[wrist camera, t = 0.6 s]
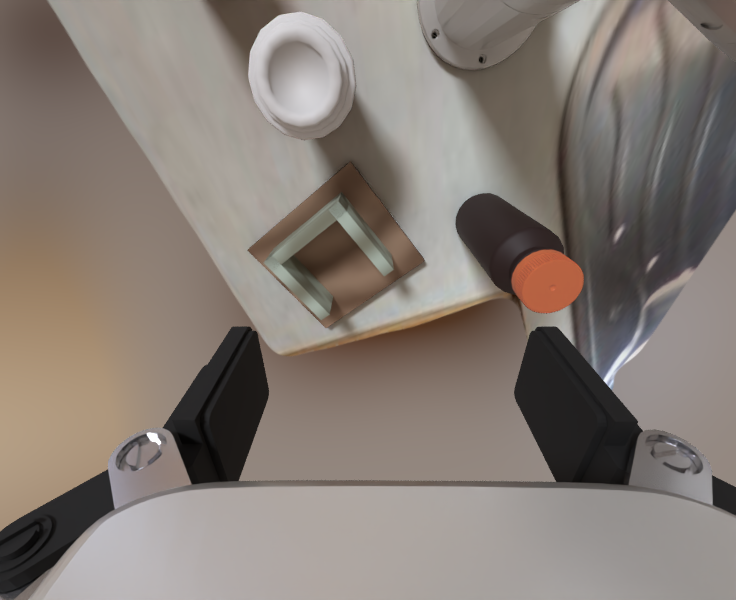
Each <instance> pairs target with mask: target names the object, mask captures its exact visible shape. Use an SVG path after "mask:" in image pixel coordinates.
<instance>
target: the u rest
mask: <svg viewBox="0 0 736 600" xmlns="http://www.w3.org/2000/svg"><path fill="white" fill-rule="evenodd" d="M248 251H249V252H250V253H251V254H252V255H253V256H254V257H255V258H256V259H257V260H258V261H259V262H260V263H261V264H262V265H263V266H264V267H265V268H266V269H267V270H268V271H269V272H270V273H271V274H272V275H273V276H274V277H275V278H276V279H277V280H278V281H279V282H280V283H281V284H282V285H283V286H284V287H285V288H286V289H287V290H288V291H289V292H290V293H291V294H292V295H293V296H294V297H295V298H296V299H297V300H298V301H299V302H300V303H301V304H302V305H303V306H304V307H305V308H306V309H307V310H308V311H309V312H310V313H311V314H312V315H313V316H314V317H315V318H316V319H317V320H318V321H319V322H320V323H321V324H322V325H323V326H324V327H325V328H327V327H329V326H330V325H332V324H333V323H334V322H336V321H337V320H339V319H340V318H342V317H343V316H345V315H346V314H348V313H349V312H351V311H352V310H353V309H355V308H356V307H358V306H359V305H361V304H362V303H364V302H365V301H367V300H368V299H370V298H371V297H373V296H374V295H375V294H377V293H378V292H380V291H381V290H383V289H384V288H386V287H387V286H389V285H390V284H392V283H393V282H394V281H396V280H397V279H399V278H400V277H402V276H403V275H405V274H406V273H408V272H409V271H411V270H412V269H413V268H415V267H416V266H418V265H419V264H421V263H422V262H424V258H423V257H422V256H421V254H420V253H419V252H418V250H417V249H416V248H415V246H414V245H413V244H412V242H411V241H410V240H409V238H408V237H407V236H406V234H405V233H404V232H403V230H402V229H401V228H400V226H399V225H398V224H397V222H396V221H395V220H394V218H393V217H392V216H391V214H390V213H389V212H388V210H387V209H386V208H385V207H384V205H383V204H382V203H381V201H380V200H379V199H378V197H377V196H376V195H375V193H374V192H373V191H372V189H371V188H370V187H369V185H368V184H367V183H366V181H365V180H364V179H363V177H362V176H361V175H360V173H359V172H358V171H357V169H356V168H355V167H354V165H353V164H352V163H351V161H350V162H349V163H348V164H347V165H346V166H344V167H343V168H342V169H341V170H340V171H339V172H337V173H336V174H335V175H334V176H333V177H332V178H330V179H329V180H328V181H327V182H326V183H325V184H323V185H322V186H321V187H320V188H319V189H318V190H316V191H315V192H314V193H313V194H312V195H311V196H309V197H308V198H307V199H306V200H305V201H304V202H303V203H301V204H300V205H299V206H298V207H297V208H296V209H294V210H293V211H292V212H291V213H290V214H289V215H287V216H286V217H285V218H284V219H283V220H282V221H280V222H279V223H278V224H277V225H276V226H275V227H273V228H272V229H271V230H270V231H269V232H268V233H266V234H265V235H264V236H263V237H262V238H261V239H259V240H258V241H257V242H256V243H255V244H254V245H252V246H251V247H250V248H249V249H248Z"/></svg>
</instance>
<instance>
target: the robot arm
mask: <svg viewBox="0 0 736 600" xmlns="http://www.w3.org/2000/svg"><path fill="white" fill-rule="evenodd" d="M578 1H579V0H417V8H418V15H419V21H420V24H421V28H422V31H423V34H424V36H425V38H426V40H427V42H428V44H429V45H430V47H431V48H432V49H433V51H434V52H435V53H436V54H437V55H438V56H439V57H440V58H441V59H442V60H444V61H445V62H446V63H448V64H450V65H452V66H454V67H457V68H461V69H466V70H478V69H482V68H487V67H490V66H492V65H495V64H497V63H499V62H501V61H503V60H504V59H506V58H508V57H509V56H510V55H511V54H513V53H514V52H515V51H516V50H518V49H519V48H520V46H521V45H522V44H523V43H524V42H525V41H526V40H527V38H528V37H529V36H530V34H531V33H532V31H533V29H534V28H535V26H536V25H537V23H539V22H541V21H543V20H545V19H547V18H549V17H551V16H552V15H554V14H556V13H558V12H560V11H562V10H564V9H566V8H567V7H569V6H571V5H572V4H574V3H576V2H578ZM668 1H669V2H670V3H671V4H672V5H673V6H674V7H675V8H676V9H677V10H678V11H679V12H680V13H682V14H683V15H684V16H685V17H686V18H687V19H688V20H689V21H690V22H691V23H692V24H693V25H694V26H695V27H696V28H697V29H698V30H699V31H700V32H701V33H702V34H703V35H704V36H705V37H706V38H707V39H708V40H709V41H711V42H712V43H713V44H714V45H715V46H716V47H717V48H718V49H720V50H721V51H722V52H723V53H725V54H726V55H727V56H728V57H730V58H731V59H732V60H734V61H735V62H736V0H668ZM432 33H435V34H436V38H435V39H433V38H432ZM480 57H481V58H482V62H481V63H480V62H479V58H480ZM514 394H515V399H516V402H517V404H518V406H519V407H520V410H521V412H522V414H523V416H524V418H525V420H526V422H527V424H528V425H529V428H530V430H531V432H532V434H533V436H534V438H535V440H536V442H537V444H538V446H539V448H540V450H541V452H542V454H543V456H544V458H545V460H546V462H547V464H548V466H549V468H550V470H551V472H552V474H553V476H554V478H555V480H556V482H517V481H513V482H512V481H510V482H509V481H389V480H388V481H386V480H379V481H378V480H372V481H371V480H364V481H363V480H359V481H358V480H330V481H329V480H296V481H295V480H292V481H291V480H279V481H239V478H240V475H241V472H242V470H243V467H244V464H245V461H246V458H247V456H248V453H249V450H250V448H251V445H252V442H253V439H254V436H255V434H256V431H257V427H258V425H259V422H260V420H261V417H262V414H263V411H264V408H265V406H266V403H267V400H268V396H269V388H268V383H267V378H266V373H265V368H264V363H263V358H262V353H261V349H260V344H259V339H258V334H257V332H256V331H252V329H251V327H232V328H231V329H230V331H229V332H228V334H227V335H226V337H225V339H224V340H223V342H222V343H221V345H220V346H219V348H218V349H217V351H216V353H215V354H214V356H213V357H212V359H211V360H210V362H209V363H208V365H205V366H204V367H203V368H202V369H201V371H200V372H199V373H198V375H197V376H196V378H195V380H194V381H193V383H192V384H191V386H190V388H189V389H188V390H187V392H186V393H185V395H184V396H183V398H182V399H181V401H180V402H179V404H178V405H177V407H176V408H175V410H174V411H173V413H172V414H171V416H170V418H169V419H168V421H167V422H166V424H165V425H164V427H163V428H152V429H146V430H143V431H141V432H138V433H136V434H134V435H132V436H130V437H129V438H127V439H126V440H125V441H124V442H122V443H121V444H120V445H119V446H118V447H117V448H116V449H115V450H114V451H113V453H112V455H111V457H110V459H109V461H108V470H106V471H104V472H102V473H101V474H99V475H97V476H95V477H93V478H91V479H90V480H88V481H86V482H84V483H82V484H81V485H79V486H77V487H75V488H73V489H72V490H70V491H68V492H66V493H64V494H63V495H61V496H59V497H57V498H55V499H53V500H52V501H50V502H48V503H46V504H45V505H43V506H41V507H39V508H37V509H35V510H33V511H32V512H30V513H28V514H26V515H24V516H23V517H21V518H19V519H17V520H16V521H14V522H13V523H11V524H10V525H8V526H7V527H5V528H4V529H3V530H2V531H1V532H0V600H736V487H734V486H732V485H730V484H728V483H726V482H724V481H722V480H720V479H718V478H716V477H714V476H712V470H711V466H710V463H709V462H708V460H707V459H706V457H705V456H704V455H703V454H702V453H701V452H700V451H699V450H698V449H697V448H696V447H694V446H693V445H691V444H690V443H688V442H687V441H686V440H684V439H682V438H680V437H678V436H676V435H673V434H671V433H667V432H665V431H659V430H645V431H642V429H641V428H640V427H639V426H638V425H637V423H638V421H637V420H636V418H635V417H634V416H633V415H632V414H631V413H630V411H629V410H628V409H627V408H626V407H625V406H624V405H623V403H622V402H621V401H620V400H619V399H618V397H617V396H616V395H615V394H614V393H613V392H612V390H611V389H610V388H609V387H608V386H607V384H606V383H605V382H604V381H603V380H602V379H601V377H600V376H599V375H598V374H597V373H596V372H595V370H594V369H593V368H592V367H591V366H590V365H589V363H588V362H587V361H586V360H585V359H584V358H583V356H582V355H581V354H580V353H579V352H578V351H577V349H576V348H575V347H574V346H573V345H572V344H571V342H570V341H569V340H568V339H567V338H566V337H565V335H564V334H563V333H562V332H561V331H560V330H559V329H558V328H557V327H537V328H536V329H535V331H532V332H531V333H530V335H529V339H528V343H527V346H526V350H525V353H524V357H523V361H522V364H521V368H520V372H519V375H518V379H517V382H516V386H515V391H514Z"/></svg>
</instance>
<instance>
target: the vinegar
mask: <svg viewBox="0 0 736 600" xmlns="http://www.w3.org/2000/svg"><path fill="white" fill-rule="evenodd" d="M456 229H457V232H458V234H459V235H460V237H461V238H462V240H463V241H464V243H465V244H466V245H467V247H468V248H469V249H470V251H471V252H472V254H473V255H474V256H475V258H476V259H477V260H478V262H479V263H480V265H481V266H482V267H483V269H484V270H485V271H486V273H487V274H488V276H489V277H490V278H491V280H492V281H493V282H494V284H495V285H496V286H497V287H498V288H500V289H501V290H503V291H504V292H507V293H511V294H514V295H517V296H518V298H519V299H520V300H521V301H522V302H523V304H524V305H525V306H526V307H527V308H528V309H530V310H532V311H534V312H535V311H536V313H537V312H538V313H546V314H547V313H552V312H555V311H558V310H561V309H563V308H565V307H566V306H568V305H570V303H572V302H573V301H574V300H575V299H576V298H577V296H578V295H579V293H581V289H582V286H583V281H584V280H583V279H584V278H583V277H584V276H583V273H582V272H583V271H581V270H582V269H580V267H579V266H578V264H576V263H575V262H574V261H572V260H571V259H569V258H568V257H566V256H565V255H564V248H563V245H562V243H561V241H560V239H559V237H558V236H556V235H555V234H554V233H553V232H552V231H550V230H549V229H547V228H546V227H544V226H543V225H541V224H540V223H538V222H537V221H535V220H534V219H532V218H531V217H529V216H528V215H526V214H524V213H523V212H521V211H520V210H518V209H517V208H515V207H514V206H512V205H511V204H509V203H508V202H506V201H505V200H503V199H501V198H500V197H498V196H496V195H493V194H490V193H483V194H478V195H475V196H472V197H471V198H470V199H468V200H467V201H465V202H464V204H463V205H462V206H461V207H460V209H459V211H458V213H457V216H456Z"/></svg>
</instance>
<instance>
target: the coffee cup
mask: <svg viewBox="0 0 736 600" xmlns="http://www.w3.org/2000/svg"><path fill="white" fill-rule="evenodd" d="M248 78H249V82H250V86H251V90H252V94H253V98H254V101H255V103H256V104H257V106H258V108H259V109H260V111H261V112H262V114H263V115H264V117H265V119H266V120H267V121H268V122H269V123H270V124H272V125H273V126H274V127H275V128H277V129H278V130H279V131H280V132H282V133H283V134H284V135H288V136H291V137H295V138H298V139H301V140H308V139H315V138H322V137H324V136H326V135H327V134H329V133H330V132H332V131H333V130H335V129H336V128H338V127H339V126H340V125H341V124H342V122H343V121H344V119H345V118H346V116H347V115H348V113H349V112H350V110H351V108H352V104H353V99H354V95H355V90H356V78H355V70H354V62H353V59H352V56H351V54H350V52H349V50H348V48H347V46H346V44H345V42H344V40H343V38H342V36H341V35H340V34H339V33H338V32H337V31H335V30H334V29H333V28H332V27H331V26H330V25H329V24H328V23H327V22H326V21H325V20H324V19H322V18H319V17H316V16H313V15H310V14H307V13H304V12H301V11H300V12H294V13H289V14H283V15H278V16H277V17H276V18H274V19H273V20H272V21H271V22H270V23H268V24H267V25H266V26H265V27H263V28H262V29H261V30H260V32H259V34H258V36H257V38H256V40H255V42H254V44H253V46H252V49H251V51H250V59H249V71H248Z"/></svg>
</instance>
